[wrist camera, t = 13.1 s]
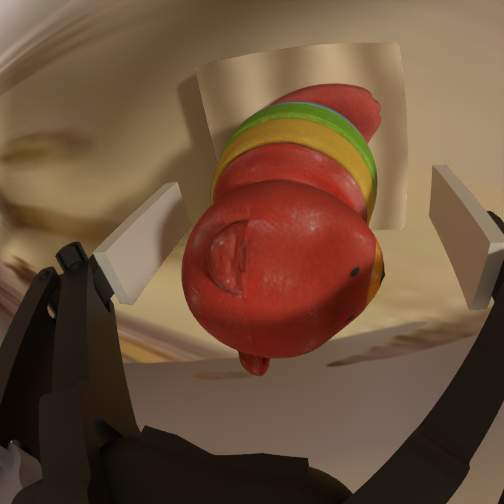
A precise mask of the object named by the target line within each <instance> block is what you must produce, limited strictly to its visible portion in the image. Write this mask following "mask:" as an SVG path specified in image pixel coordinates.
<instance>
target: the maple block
mask: <svg viewBox="0 0 504 504" xmlns="http://www.w3.org/2000/svg"><path fill="white" fill-rule="evenodd" d="M195 72H196V76H197V80H198V85H199V89H200V93H201V97H202V102H203V106H204V110H205V114H206V119H207V123H208V127H209V131H210V135H211V140H212V144H213V148H214V152H215V156H216V160H217V165H218V162H219V159H220V156H221V153H222V151H223V149H224V147H225V145H226V143H227V142H228V140H229V138H230V137H231V136H232V134H233V133H234V131H235V130H236V129H237V128H238V127H239V126H240V125H241V124H242V123H243V122H244V121H245V120H246V119H248V118H249V117H250V116H252V115H253V114H254V113H256V112H258V111H260V110H262V109H263V108H266V107H268V106H269V105H271V104H272V103H273V102H275V101H276V100H278V99H279V98H281V97H283V96H285V95H286V94H288V93H290V92H293V91H295V90H298V89H301V88H304V87H308V86H313V85H319V84H330V83H339V84H350V85H355V86H360V87H363V88H365V89H367V90H368V91H370V92H371V94H372V97H373V98H374V99H375V100H377V101H378V102H379V104H380V106H381V110H380V113H379V115H380V116H381V124H380V126H379V128H378V130H377V131H376V132H375V134H374V135H373V136H372V138H371V139H370V141H369V143H368V146H369V148H370V150H371V152H372V155H373V158H374V161H375V165H376V169H377V196H376V202H375V207H374V210H373V213H372V217H371V220H370V224H369V228H370V230H387V229H405V218H406V202H407V175H408V142H407V116H406V100H405V88H404V78H403V70H402V62H401V54H400V47H399V44H396V43H342V44H325V45H313V46H302V47H294V48H286V49H278V50H272V51H265V52H259V53H254V54H248V55H243V56H238V57H234V58H229V59H224V60H220V61H216V62H212V63H208V64H204V65H200V66H196V67H195Z"/></svg>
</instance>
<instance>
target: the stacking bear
mask: <svg viewBox="0 0 504 504" xmlns="http://www.w3.org/2000/svg"><path fill="white" fill-rule="evenodd" d="M380 110H381V106H380V104H379V102H378V101H377V100H375V99H374V98H373V97H372V94H371V92H370V91H368V90H367V89H365V88H363V87H360V86H355V85H350V84H339V83H330V84H319V85H313V86H308V87H304V88H301V89H298V90H295V91H293V92H290V93H288V94H286V95H285V96H283V97H281V98H279V99H278V100H276V101H275V102H273V103H272V104H271V105H269V106H268V107H266V108H263V109H262V110H260V111H258V112H256V113H254V114H253V115H252V116H250V117H249V118H248V119H246V120H245V121H244V122H243V123H242V124H241V125H240V126H239V127H238V128H237V129H236V130H235V131H234V133H233V134H232V136H231V137H230V138H229V140H228V142H227V143H226V145H225V147H224V149H223V151H222V153H221V156H220V159H219V162H218V165H217V167H216V170H215V173H214V177H213V181H212V186H211V193H210V202H211V207H210V208H209V209H208V210H207V211H206V212H205V213H204V214H203V216H202V217H201V218H200V220H199V221H198V223H197V224H196V226H195V227H194V229H193V231H192V233H191V235H190V237H189V239H188V242H187V245H186V248H185V252H184V256H183V260H182V272H181V273H182V286H183V291H184V295H185V299H186V301H187V304H188V306H189V309H190V311H191V312H192V314H193V316H194V317H195V318H196V320H197V321H198V322H199V324H200V325H201V326H202V327H203V328H204V329H205V330H206V331H207V332H208V333H209V334H211V335H212V336H213V337H215V338H216V339H217V340H219V341H220V342H222V343H223V344H225V345H227V346H229V347H231V348H233V349H235V350H237V351H238V352H239V358H240V361H241V364H242V366H243V367H244V368H245V369H246V370H247V371H248V372H249V373H251V374H253V375H255V376H262V375H264V374H265V373H266V371H267V369H268V367H269V362H270V358H290V357H296V356H300V355H303V354H306V353H309V352H311V351H313V350H315V349H317V348H318V347H320V346H321V345H323V344H324V343H325V342H327V341H328V340H329V339H331V338H332V337H333V336H334V335H335V334H337V333H338V332H339V331H340V330H342V329H343V328H344V327H345V326H347V325H348V324H349V323H350V322H352V321H353V320H354V319H355V318H356V317H358V316H359V315H360V314H361V313H362V312H363V311H364V309H365V308H366V306H367V305H368V304H369V303H370V302H371V300H372V299H373V298H374V297H375V295H376V293H377V291H378V290H379V288H380V285H381V282H382V280H383V278H384V276H385V272H384V262H383V255H382V251H381V248H380V246H379V243H378V241H377V239H376V237H375V236H374V234H373V233H372V231H371V230H370V228H369V224H370V220H371V217H372V213H373V210H374V207H375V202H376V196H377V169H376V165H375V161H374V158H373V155H372V152H371V150H370V148H369V146H368V143H369V141H370V139H371V138H372V136H373V135H374V134H375V132H376V131H377V130H378V128H379V126H380V124H381V116H380V115H379V113H380Z"/></svg>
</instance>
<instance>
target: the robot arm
mask: <svg viewBox="0 0 504 504" xmlns="http://www.w3.org/2000/svg"><path fill="white" fill-rule="evenodd" d="M429 217H430V219H431V221H432V223H433V225H434V227H435V229H436V231H437V233H438V235H439V237H440V239H441V241H442V243H443V246H444V248H445V250H446V252H447V255H448V257H449V259H450V261H451V264H452V266H453V269H454V271H455V273H456V276H457V278H458V281H459V283H460V286H461V289H462V291H463V294H464V297H465V299H466V302H467V305H468V308H469V310H479V309H487V307H488V304H489V302H490V299H491V297H493V299H494V302H495V303H494V305H493V307H492V309H491V311H490V313H489V315H488V318H487V320H486V322H485V324H484V326H483V328H482V330H481V331H480V333H479V335H478V337H477V339H476V341H475V343H474V345H473V346H472V348H471V350H470V352H469V354H468V355H467V357H466V359H465V360H464V362H463V364H462V365H461V367H460V369H459V370H458V372H457V374H456V375H455V377H454V378H453V380H452V381H451V383H450V384H449V386H448V387H447V389H446V390H445V392H444V393H443V395H442V396H441V397H440V399H439V400H438V402H437V403H436V405H435V406H434V407H433V409H432V410H431V411H430V413H429V414H428V415H427V416H426V418H425V419H424V420H423V422H422V423H421V424H420V425H419V427H418V428H417V429H416V430H415V431H414V432H413V433H412V434H411V435H410V436H409V437H408V439H407V440H406V441H405V442H404V443H403V444H402V445H401V447H400V448H399V449H398V450H397V451H396V452H395V453H394V454H393V455H392V457H391V458H390V459H389V460H388V461H387V462H386V463H385V464H384V465H383V466H382V467H381V468H380V469H379V470H378V471H377V472H376V473H375V474H374V475H373V476H372V477H371V478H370V479H369V480H368V481H367V482H366V483H365V484H364V485H363V486H361V487H360V489H358V490H357V491H356V492H355V493H354V494H353V493H352V492H351V491H350V490H349V489H348V488H347V487H346V486H345V485H344V484H342V483H341V482H340V481H339V480H337V479H336V478H334V477H332V476H330V475H329V474H327V473H325V472H323V471H320V470H318V469H315V468H312V467H309V463H308V458H300V457H290V456H280V455H272V454H264V453H259V454H258V453H257V454H242V455H213V454H210V453H208V452H207V451H205V450H203V449H201V448H199V447H197V446H196V445H194V444H192V443H190V442H188V441H187V440H185V439H183V438H181V437H180V436H178V435H175V434H171V433H168V432H165V431H161V430H158V429H155V428H152V427H149V426H146V425H145V426H144V428H143V430H142V432H140V430H139V428H138V426H137V424H136V420H135V416H134V413H133V408H132V404H131V400H130V396H129V391H128V387H127V382H126V377H125V372H124V367H123V362H122V356H121V351H120V345H119V338H118V332H117V325H116V318H115V310H114V304H113V302H112V301H111V299H110V298H111V297H112V296H113V294H115V295H116V297H117V299H118V301H119V302H120V304H130V305H133V304H134V303H135V301H136V300H137V298H138V297H139V295H140V294H141V292H142V291H143V290H144V288H145V287H146V285H147V284H148V283H149V281H150V280H151V278H152V277H153V276H154V274H155V273H156V271H157V270H158V269H159V267H160V266H161V264H162V263H163V262H164V260H165V259H166V258H167V256H168V255H169V254H170V252H171V251H172V249H173V248H174V247H175V245H176V244H177V243H178V241H179V240H180V239H181V237H182V236H183V235H184V234H185V232H186V231H187V230H188V228H189V227H190V226H191V223H190V220H189V217H188V214H187V211H186V208H185V205H184V201H183V198H182V195H181V192H180V189H179V185H178V182H171V183H166V184H164V185H163V186H162V187H161V188H160V189H159V190H158V191H156V192H155V193H154V194H153V195H152V196H151V197H150V198H149V199H147V200H146V201H145V202H144V203H143V204H142V205H141V206H140V207H139V208H138V209H137V210H135V211H134V212H133V213H132V214H131V215H130V216H129V217H128V218H127V219H126V220H125V221H124V222H123V223H122V224H121V225H120V226H119V227H118V228H116V229H115V230H114V231H113V232H112V233H111V234H110V235H109V236H108V237H107V238H106V239H105V240H104V241H103V242H102V243H101V244H100V245H99V246H98V247H97V248H96V249H95V251H94V252H93V255H92V256H91V257H90V258H89V259H88V257H87V256H86V254H85V252H84V250H83V248H82V246H81V244H80V242H73V243H70V244H68V245H66V246H65V247H63V248H62V249H61V250H60V251H59V252H58V253H57V254H56V256H55V257H56V259H57V261H58V262H59V264H60V266H61V268H62V269H63V271H64V274H60V275H58V274H57V272H56V270H55V268H54V267H48V268H46V269H45V268H44V269H43V270H41V271H40V272H39V273H38V275H37V276H36V277H35V278H34V280H33V282H32V284H31V285H30V287H29V289H28V291H27V293H26V295H25V296H24V298H23V300H22V302H21V304H20V306H19V308H18V310H17V312H16V314H15V316H14V318H13V320H12V322H11V325H10V327H9V329H8V331H7V334H6V336H5V338H4V340H3V342H2V345H1V347H0V504H446V503H447V502H448V501H449V499H450V498H451V497H452V496H453V494H454V493H455V492H456V490H457V489H458V488H459V486H460V485H461V483H462V482H463V480H464V479H465V477H466V476H467V473H468V471H469V469H470V467H469V463H470V460H471V458H472V457H473V455H474V453H475V452H476V450H477V448H478V447H479V445H480V444H481V442H482V440H483V438H484V437H485V435H486V433H487V431H488V430H489V428H490V426H491V424H492V423H493V421H494V419H495V417H496V415H497V413H498V411H499V409H500V407H501V405H502V403H503V401H504V222H503V221H502V220H501V219H500V217H498V216H497V215H495V214H494V213H493V212H491V211H486V210H485V209H484V208H483V206H482V205H481V204H480V203H479V201H478V200H477V199H476V198H475V197H474V195H473V194H472V193H471V192H470V191H469V190H468V188H467V187H466V186H465V185H464V184H463V183H462V181H461V180H460V179H459V178H458V177H457V176H456V175H455V174H454V173H453V172H452V170H451V169H450V168H449V167H448V166H447V165H433V167H432V186H431V200H430V211H429ZM47 306H49V308H50V309H51V311H52V312H53V313H54V315H55V316H54V318H52V317H51V316H50V315H49V313H48V309H47ZM10 441H12V442H13V443H11V442H10ZM498 504H504V490H503V492H502V495H501V497H500V500H499V502H498Z"/></svg>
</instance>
